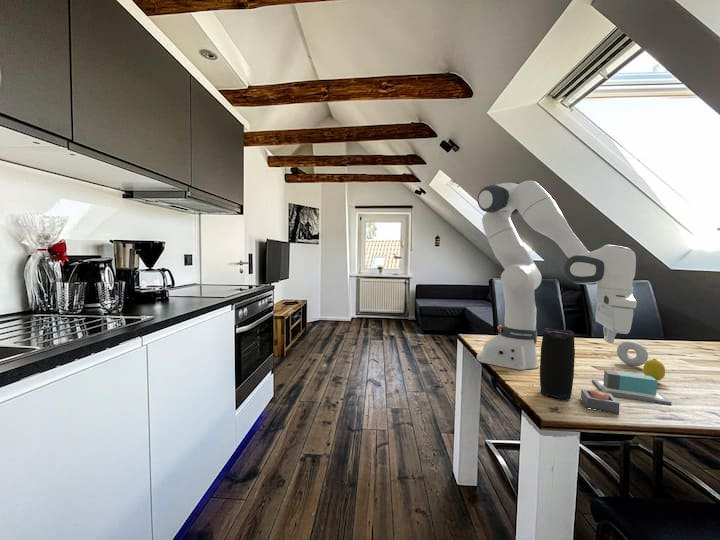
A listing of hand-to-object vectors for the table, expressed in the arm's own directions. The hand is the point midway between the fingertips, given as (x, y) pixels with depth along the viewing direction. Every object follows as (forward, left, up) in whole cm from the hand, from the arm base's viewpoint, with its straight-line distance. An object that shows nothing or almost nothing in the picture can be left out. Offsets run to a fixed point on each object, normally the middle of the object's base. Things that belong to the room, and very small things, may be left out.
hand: (608, 341), depth 100 cm
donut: (+19, +38, -16) cm, 45 cm away
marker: (+7, +3, -15) cm, 16 cm away
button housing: (-5, -14, -16) cm, 22 cm away
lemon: (+19, +19, -16) cm, 31 cm away
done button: (-5, -14, -15) cm, 21 cm away
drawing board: (+7, +3, -16) cm, 17 cm away
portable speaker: (-15, -11, -16) cm, 25 cm away
